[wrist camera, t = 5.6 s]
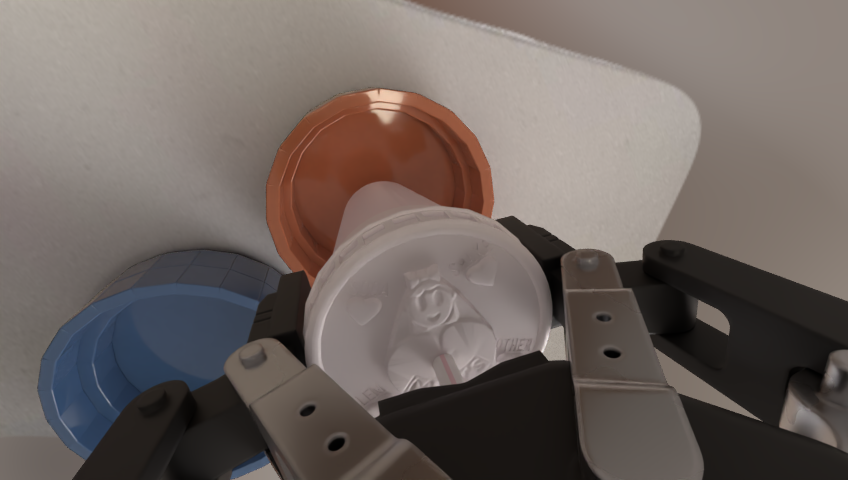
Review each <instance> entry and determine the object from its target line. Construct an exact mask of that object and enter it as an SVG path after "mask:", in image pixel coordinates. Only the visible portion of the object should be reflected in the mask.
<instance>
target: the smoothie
mask: <svg viewBox="0 0 848 480" xmlns="http://www.w3.org/2000/svg"><path fill="white" fill-rule="evenodd" d="M551 324H552V298H551V292H550V288H549V284H548V281H547V279H546V276H545V274H544V272H543V270H542V268H541V266H540V264H539V263H538V262H537V260H536V259H535V257H534V256H533V255H532V254H531V253H530V252H529V251H528V249H527V248H526V247H524V246H523V245H522V244H521V242H520V241H519V239H518V238H517V237H515V236H514V235H513V234H512V233H511V232H509V231H508V230H507V229H506V228H505V227H503V226H502V225H501V224H500V223H499V222H497V221H496V220H493V219H491V218H489V217H486V216H484V215H481V214H479V213H477V212H474V211H472V210H469V209H463V208H455V207H446V206H440V205H438V204H436V203H435V202H433V201H431V200H429V199H427V198H425V197H423V196H421V195H419V194H417V193H415V192H414V191H412V190H410V189H408V188H406V187H404V186H402V185H400V184H398V183H394V182H389V181H379V182H374V183H370V184H368V185H365V186H364V187H362V188H360V189H359V190H358V191H357V192H355V193H354V194H353V196H352V197H351V198H350V200H349V201H348V203H347V205H346V207H345V210H344V214H343V218H342V221H341V225H340V229H339V233H338V236H337V240H336V244H335V247H334V251H333V255H332V256H331V257H330V258H329V260H328V261H327V262H326V263H325V265H324V266H323V267H322V269H321V270H320V271H319V272H318V274H317V277H316V279H315V281H314V284H313V286H312V289H311V291H310V294H309V296H308V298H307V301H306V303H305V314H304V325H303V336H304V341H305V349H304V350H305V361H306V365H307V367H309V366H311V365H312V364H316V365H318V366H319V367H320V368H321V369H322V370H323V371H324V372H325V373H326V374H327V375H328V376H330V377H331V378H332V379H333V380H334V381H335V382H336V383H337V384H338V385H339V386H340V387H341V388H342V389H344V390H345V391H346V392H347V393H348V394H349V395H350V396H351V397H352V398H353V399H354V400H355V401H356V402H358V403H359V404H360V405H361V406H362V407H363V408H364V409H365V410H366V411H367V412H368V413H369V414H370V415H371V416H373V417H374V418H375V417H377V416H379V415H380V413H379V407H378V401H381V400H384V399H387V398H390V397H393V396H396V395H400V394H403V393H406V392H409V391H412V390H415V389H419V388H426V387H434V386H443V385H452V384H460V383H465V382H467V381H469V380H471V379H473V378H474V377H476V376H478V375H480V374H482V373H483V372H485V371H487V370H489V369H490V368H492V367H494V366H496V365H497V364H499V363H501V362H504V361H507V360H510V359H513V358H516V357H519V356H523V355H526V354H529V353H532V352H535V351H538V350H540V351H541V352H542V354H543V352H544V350H545V347H546V344H547V342H548V338H549V334H550V330H551Z"/></svg>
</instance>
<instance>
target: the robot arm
mask: <svg viewBox="0 0 848 480" xmlns="http://www.w3.org/2000/svg"><path fill="white" fill-rule="evenodd" d="M496 221H497V222H499V223H500V224H501V225H502V226H503V227H505V228H506V229H507V230H508V231H509V232H511V233H512V234H513V235H514V236H515V237H517V238H518V239H519V241H520V242H521V244H522V245H523V246H524V247H526V248H527V249H528V251H529V252H530V253H531V254H532V255H533V256H534V257H535V259H536V260H537V262H538V263H539V264H540V266H541V268H542V270H543V272H544V274H545V276H546V279H547V281H548V284H549V288H550V292H551V298H552V324H551V329H552V328H556V327H559V326H563V327H564V341H565V354H566V361H565V360H556V361H548V360H547V359H546V357H545V356H544V355H543V354H542V352H541V351H540V350H538V351H535V352H532V353H529V354H526V355H523V356H519V357H516V358H513V359H510V360H507V361H504V362H501V363H499V364H497V365H496V366H494V367H492V368H490V369H489V370H487V371H485V372H483V373H482V374H480V375H478V376H476V377H474V378H473V379H471V380H469V381H467V382H465V383H460V384H452V385H443V386H434V387H426V388H419V389H415V390H412V391H409V392H406V393H403V394H400V395H396V396H393V397H390V398H387V399H384V400H381V401H378V407H379V413H380V415H379V416H377V417H375V418H374V417H373V416H371V415H370V414H369V413H368V412H367V411H366V410H365V409H364V408H363V407H362V406H361V405H360V404H359V403H358V402H356V401H355V400H354V399H353V398H352V397H351V396H350V395H349V394H348V393H347V392H346V391H345V390H344V389H342V388H341V387H340V386H339V385H338V384H337V383H336V382H335V381H334V380H333V379H332V378H331V377H330V376H328V375H327V374H326V373H325V372H324V371H323V370H322V369H321V368H320V367H319V366H318V365H316V364H312V365H311V366H309V367H307V365H306V361H305V350H304V349H305V341H304V336H303V325H304V314H305V303H306V301H307V298H308V296H309V294H310V291H311V286H310V283H309V281H308V278H307V275H306V273H305V271H304V270H302V271H298V272H294V273H290V274H286V275H282V276H280V280H279V285H278V289H277V292H275V293H272V294H268V295H267V296H266V297H265V298H264V299H263V300H262V301H261V302H260V303H259V304H258V308H257V311H256V316H255V318H254V321H253V323H254V324H252V328H251V331H250V334H249V338H248V341H247V344H245V345H244V346H242V347H240V348H239V349H237V350H236V351H235V352H233V353H232V354H231V355H230V356H229V357H228V359H227V360H226V362H225V364H224V372H225V374H224V375H223V376H221V377H220V378H218V379H216V380H214V381H212V382H210V383H208V384H206V385H204V386H202V387H200V388H198V389H196V390H194V391H192V392H191V391H190V389H189V387H188V386H187V384H186V383H185V382H184V381H182V380H171V381H167V382H163V383H160V384H158V385H155V386H153V387H151V388H149V389H147V390H146V391H144V392H143V393H141V394H139V395H138V396H137V397H135V398H134V399H133V400H132V401H131V402H130V403H129V404H128V405H127V406H126V407H125V408H124V409H123V410H122V412H121V413H120V415H119V416H118V417H117V419H116V420H115V421H114V423H113V424H112V426H111V427H110V428H109V430H108V431H107V432H106V434H105V435H104V436H103V438H102V439H101V441H100V442H99V443H98V445H97V446H96V447H95V449H94V450H93V452H92V453H91V454H90V456H89V457H88V458H87V460H86V461H85V463H84V464H83V465H82V467H81V468H80V470H79V471H78V472H77V474H76V475H75V476H74V478H73V479H72V480H230V479H231V475H232V469H234V468H236V467H237V466H239V465H241V464H242V463H244V462H246V461H247V460H249V459H251V458H252V457H254V456H256V455H257V454H259V453H261V452H263V451H264V453H265V455H266V456H267V458H268V460H269V461H270V463H271V465H272V466H273V468H274V469H275V471H276V472H277V474H278V476H279V477H280V479H281V480H848V301H845V300H842V299H840V298H837V297H834V296H831V295H829V294H826V293H823V292H821V291H818V290H815V289H813V288H810V287H807V286H804V285H802V284H799V283H796V282H794V281H791V280H788V279H785V278H783V277H780V276H777V275H774V274H772V273H769V272H766V271H764V270H761V269H758V268H755V267H753V266H750V265H747V264H745V263H742V262H739V261H737V260H734V259H731V258H728V257H725V256H723V255H720V254H718V253H715V252H712V251H709V250H707V249H704V248H701V247H699V246H696V245H693V244H690V243H686V242H682V241H674V240H663V241H656V242H652V243H649V244H647V245H646V246H645V247H644V248H643V259H642V260H639V261H629V262H618V263H615V261H614V258H613V257H612V256H611V255H610V254H608V253H606V252H604V251H601V250H596V249H578V250H575V249H574V248H572V247H571V246H569V245H568V244H566V243H565V242H563V241H562V240H559V239H558V238H557V237H556V236H554V235H552V234H551V233H550V232H548V231H547V230H545V229H544V228H541V227H537V226H533V225H525V224H524V223H523V222H521V221H520V220H518V219H517V218H515V217H514V216H509V217H505V218H501V219H497V220H496ZM698 300H701V301H702V302H704V303H706V304H708V305H710V306H712V307H714V308H716V309H718V310H720V311H721V312H722V313H723V314H724V315H725V316H726V318H727V319H728V321H729V324H730V333H729V336H728V335H726V334H725V333H723V332H721V331H719V330H717V329H715V328H713V327H712V326H710V325H708V324H706V323H704V322H703V321H701V320H699V319H697V318H696V315H697V307H698ZM654 347H655V348H656V349H658V350H659V351H661V352H662V353H664V354H665V355H667V356H668V357H670V358H671V359H672V360H674V361H675V362H677V363H678V364H680V365H681V366H683V367H684V368H686V369H687V370H689V371H690V372H692V373H693V374H694V375H696V376H697V377H699V378H700V379H702V380H703V381H705V382H706V383H708V384H709V385H711V386H712V387H713V388H715V389H716V390H718V391H719V392H721V393H722V394H724V395H725V396H727V397H728V398H730V399H731V400H733V401H734V402H736V403H737V404H738V405H740V406H741V407H743V408H744V409H746V410H747V411H749V412H750V413H752V414H753V415H754V416H756V417H758V418H759V419H760V420H762V421H763V422H762V421H759V420H756V419H753V418H750V417H747V416H744V415H741V414H738V413H735V412H732V411H730V410H726V409H724V408H721V407H718V406H715V405H711V404H709V403H705V402H702V401H700V400H697V399H693V398H691V397H688V396H685V395H682V394H679V393H677V391H676V390H675V389H674V387H672V386H669V385H668V383H667V381H666V379H665V376H664V373H663V370H662V368H661V365H660V362H659V360H658V357H657V355H656V352H655V349H654Z"/></svg>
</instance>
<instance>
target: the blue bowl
mask: <svg viewBox="0 0 848 480" xmlns="http://www.w3.org/2000/svg"><path fill="white" fill-rule="evenodd" d="M280 276H282V275H281V274H280V273H278V272H277V271H276V270H274V269H273V268H271V267H269V266H267V265H265V264H262V263H259V262H257V261H254V260H252V259H249V258H247V257H244V256H241V255H237V254H234V253H227V252H219V251H211V250H192V251H183V252H174V253H166V254H162V255H159V256H157V257H154V258H152V259H149V260H147V261H144V262H141V263H139V264H136V265H134V266H132V267H130V268H129V269H127V270H126V271H125V272H124V273H122V274H121V275H120V276H118V277H117V278H116V279H115V280H113V281H112V282H111V283H109V284H108V285H107V286H106V287H105V288H104V289H102V290H101V291H100V292H99V293H98V294H97V295H96V296H95V297H94V298H93V299H91V300H90V301H89V302H88V303H87V304H86V305H85V306H84V307H83V308H81V309H80V310H79V311H78V312H77V313H76V314H75V315H74V316H73V317H71V318H70V319H69V320H68V321H67V322H66V323H65V324H64V325H63V326H62V327H61V328H60V329H59V330H58V332H57V334H56V335H55V337H54V338H53V340H52V342H51V343H50V345H49V347H48V348H47V350H46V351H45V353H44V355H43V356H42V359H41V366H40V373H39V380H38V387H37V389H38V394H39V398H40V401H41V405H42V408H43V411H44V415H45V418H46V420H47V422H48V423H49V425H50V426H51V427H52V429H53V430H54V431H55V432H56V434H57V435H58V436H59V438H60V439H61V440H62V441H63V443H64V444H65V445H66V446H67V447H68V448H69V449H70V450H72V451H73V452H75V453H76V454H77V455H79V456H80V457H82V458H83V459H85V460H87V458H88V457H89V456H90V454H91V453H92V452H93V450H94V449H95V447H96V446H97V445H98V443H99V442H100V441H101V439H102V438H103V436H104V435H105V434H106V432H107V431H108V430H109V428H110V427H111V426H112V424H113V423H114V421H115V420H116V419H117V417H118V416H119V415H120V413H121V412H122V410H123V409H124V408H125V407H126V406H127V405H128V404H129V403H130V402H131V401H132V400H133V399H134V398H135V397H137V396H138V395H139V394H141V393H143V392H144V391H146V390H147V389H149V388H151V387H153V386H155V385H158V384H160V383H163V382H167V381H171V380H182V381H184V382H185V383H186V384H187V386H188V387H189V389H190V391H191V392H192V391H194V390H196V389H198V388H200V387H202V386H204V385H206V384H208V383H210V382H212V381H214V380H216V379H218V378H220V377H221V376H223V375H224V374H225V372H224V364H225V362H226V360H227V359H228V357H229V356H230V355H231V354H232V353H233V352H235V351H236V350H237V349H239V348H240V347H242V346H244V345H245V344H247V341H248V338H249V334H250V331H251V328H252V324H254V323H253V321H254V318H255V316H256V311H257V308H258V304H259V303H260V302H261V301H262V300H263V299H264V298H265V297H266V296H267V295H268V294H272V293H275V292H277V289H278V285H279V280H280ZM269 463H270V461H269V460H268V458H267V456H266V455H265V453H264V451H263V452H261V453H259V454H257V455H256V456H254V457H252V458H251V459H249V460H247V461H246V462H244V463H242V464H241V465H239V466H237V467H236V468H234V469H232V475H231V479H235V478H238V477H240V476H243V475H245V474H247V473H250V472H252V471H254V470H257V469H259V468H261V467H263V466H265V465H267V464H269ZM231 479H230V480H231Z"/></svg>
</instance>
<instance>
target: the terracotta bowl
mask: <svg viewBox="0 0 848 480" xmlns="http://www.w3.org/2000/svg"><path fill="white" fill-rule="evenodd" d="M379 181H389V182H394V183H398V184H400V185H402V186H404V187H406V188H408V189H410V190H412V191H414V192H415V193H417V194H419V195H421V196H423V197H425V198H427V199H429V200H431V201H433V202H435V203H436V204H438V205H440V206H446V207H455V208H463V209H469V210H472V211H474V212H477V213H479V214H481V215H484V216H486V217H489V218H491V215H492V210H493V205H494V194H493V186H492V177H491V169H490V165H489V163H488V161H487V159H486V157H485V155H484V152H483V150H482V148H481V146H480V144H479V142H478V139H477V137H476V136H475V135H474V134H473V133H472V132H471V131H470V130H469V128H468V127H467V126H466V125H465V124H464V123H463V122H462V121H461V120H460V119H459V118H458V117H457V116H456V115H455V114H454V113H453V112H452V111H450V110H449V109H448V108H446V107H444V106H442V105H440V104H438V103H436V102H434V101H432V100H430V99H428V98H426V97H424V96H422V95H420V94H417V93H413V92H406V91H398V90H391V89H384V88H375V87H369V88H364V89H359V90H354V91H349V92H344V93H339V94H338V95H335V96H333V97H332V98H330V99H328V100H326V101H325V102H323V103H321V104H320V105H318V106H316V107H315V108H313V109H311V110H310V111H309V112H307V114H306V115H305V116H304V117H303V118H302V120H301V121H300V122H299V123H298V124H297V126H296V127H295V128H294V129H293V131H292V132H291V133H290V134H289V135H288V137H287V138H286V139H285V140H284V142H283V143H282V144H281V145H280V148H279V149H278V151H277V154H276V157H275V160H274V163H273V165H272V168H271V171H270V174H269V177H268V179H267V184H266V220H267V225H268V227H269V230H270V233H271V235H272V238H273V241H274V244H275V246H276V249H277V252H278V254H279V256H280V257H281V258H282V259H283V261H284V262H285V263H286V264H287V266H288V267H289V268H290V269H291V270H292V272H293V273H294V272H298V271H302V270H304V271H305V273H306V275H307V278H308V281H309V283H310V286H311V289H312V286H313V284H314V281H315V279H316V277H317V274H318V272H319V271H320V270H321V269H322V267H323V266H324V265H325V263H326V262H327V261H328V260H329V258H330V257H331V256H332V255H333V251H334V247H335V244H336V240H337V236H338V233H339V229H340V225H341V221H342V218H343V214H344V210H345V207H346V205H347V203H348V201H349V200H350V198H351V197H352V196H353V194H354V193H355V192H357V191H358V190H359V189H360V188H362V187H364V186H365V185H368V184H370V183H374V182H379Z"/></svg>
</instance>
